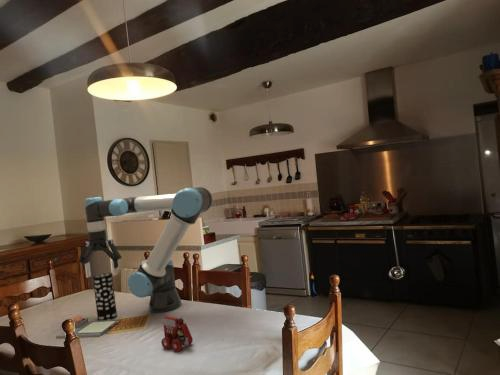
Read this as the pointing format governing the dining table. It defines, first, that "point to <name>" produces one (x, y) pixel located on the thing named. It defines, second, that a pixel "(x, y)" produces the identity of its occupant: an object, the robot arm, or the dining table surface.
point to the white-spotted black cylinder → (104, 296)
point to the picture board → (90, 328)
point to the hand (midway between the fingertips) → (101, 276)
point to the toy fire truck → (175, 334)
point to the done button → (78, 319)
